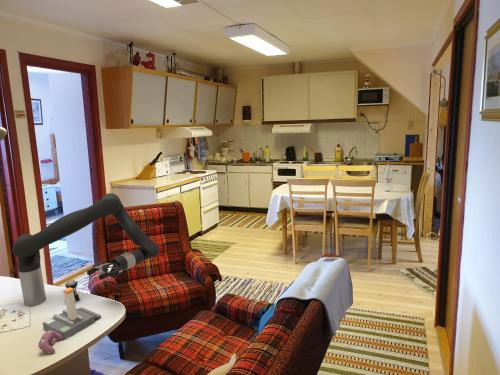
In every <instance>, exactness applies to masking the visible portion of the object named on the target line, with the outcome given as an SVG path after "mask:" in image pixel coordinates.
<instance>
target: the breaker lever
mask: <svg viewBox="0 0 500 375" xmlns="http://www.w3.org/2000/svg"><path fill="white" fill-rule="evenodd" d="M74 289H75V288H74ZM74 289H73V288H70V287H69V288H65V289H63V294H64V300H65V301H64V302H66V303H65V306H66V307H65V308H66V310H67V314H68V319H69V320H71V321H73V322H76V321H77V312H76V309H77V307H76V301H75V299H74Z"/></svg>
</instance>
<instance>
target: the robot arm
mask: <svg viewBox="0 0 500 375" xmlns="http://www.w3.org/2000/svg"><path fill="white" fill-rule="evenodd" d="M110 215H111V216H112V217H114V218H115V220H116V221H117V222H118V223H119V225H120V226H121V228H122V230H123V232H124V233H125V235H126V236H127V237H128V238H129V240H130V241H131V243H133V244H134V246H137V247H139V248H137V249H135V250H132V251H129V252H126V253H123V254H120V255H118V256H115V257H113V258H111V259H110V262H108V263H107V262H106V263H105V261H101V262H98V263H96V264H94V265H92V268H90V269H88V270H87V269H86V275H87V276H90V275H93V274H95V273H100V274H98V280H99V281H100V280H101V281H102V280H103V279H106V278H111V279H112V278H116V277H117V276H119V275H121V274H123V272H124V271H127V270H129V269H131V268H133V267H135V266H137V265H139V264H141V263H142V262H144V261H147V260H149V259H153V258H155V257H158V256H159V255H160V247H159V246H158V244H157V243H156V242H155V241H153V240H152V239H151V238H150V237H149V236H147V235H146V234H145V233H144V231H143V230H142V229H141V228H140V226H139V225H138V224H137V223H136V222H135V221H134V219H133V218H132V217H131V216H130V214H129V213H128V211H127V210H126V208H125V207H124V205H123V202H122V201H121V199H120V197H119V196H118V195H117V194H116V193H112V192H109V193H105V194H104V195H103V196H102V198H101V199H99V200H98V201H96V202H95V203H93V204H92V205H89V206H87V207H86V208H82V209H79V210H76V211H72V212H69V213H67V214H66V215H65V214H64V215H63V216H62V217H60V218H59V217H58V219H56V220H54V221H53V222H51V223H50V224H49V225H47V226H46V227H45V228H43V229H41V230H40V231H38V232H36V233H34V234H30V233H25V234H22V235H20V236H19V237H18V238H17V239H16V240H15V242H14V243H13V245H12V248H11V252H12V254H13V256H15V257H17V259H18V260H17V270H18V271H17V272H18V277H19V282H20V288H21V292H22V298H23V304H24V306H26V307H34V306H38V305H41V304H43V303H44V302H46V300H47V295H46V289H45V284H44V278H43V271H42V264H41V254H40V253H41V252H40V250H42V249H44V248H45V247H47V246H49V245H51V244H53V243H55V242H58V241H61V240H62V239H65V238H66V237H69V236H70V235H72V234H75V233H77V232H79V231H81V230H82V229H83V228H87V226H89V225H91V224H92V223H94V222H96V221H97V220H100V219H102V218H105V217H108V216H110Z"/></svg>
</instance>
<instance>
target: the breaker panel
mask: <svg viewBox="0 0 500 375" xmlns="http://www.w3.org/2000/svg"><path fill="white" fill-rule="evenodd" d="M76 312H77V321H76V322H73V321H71V320H69V319H68V314H67V308H66V309H63V310H62V312H61V313H59V314H58V313H55V314H53V315H52V316H53V317H51V318H49V319H47V320H45V321H43V322H42V328H43V330H44V331H46V332H48V331H50V330H53V331H55V332H57V333H59V334H61V335H62V336H63V340H64V341H65V340H67V339H68V338H70V337H72V336H73V335H75V334H77V333H79V332H81V331H83V330H84V329H86V328H88V327H89V326H91V325H93V324H95V323H96V321H95V318H94V316H93V315H90V314H88V313H86V312H83V311H81V310H79V308H76Z"/></svg>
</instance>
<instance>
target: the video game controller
mask: <svg viewBox="0 0 500 375" xmlns="http://www.w3.org/2000/svg"><path fill="white" fill-rule="evenodd" d="M55 340H57V341H63V340H64V339H63V336H62V335H61V334H59V333H57V332H55V331H53V330H50V331H46V332H44V333H43V334H42V335H41V337H40V340H39V342H37V344H38V345H37V346H38V348H39V350H41V351H44V352H45V353H48V354H55V353H56V349H55V348H54V347H53V346H52V345H54V344H55Z"/></svg>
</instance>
